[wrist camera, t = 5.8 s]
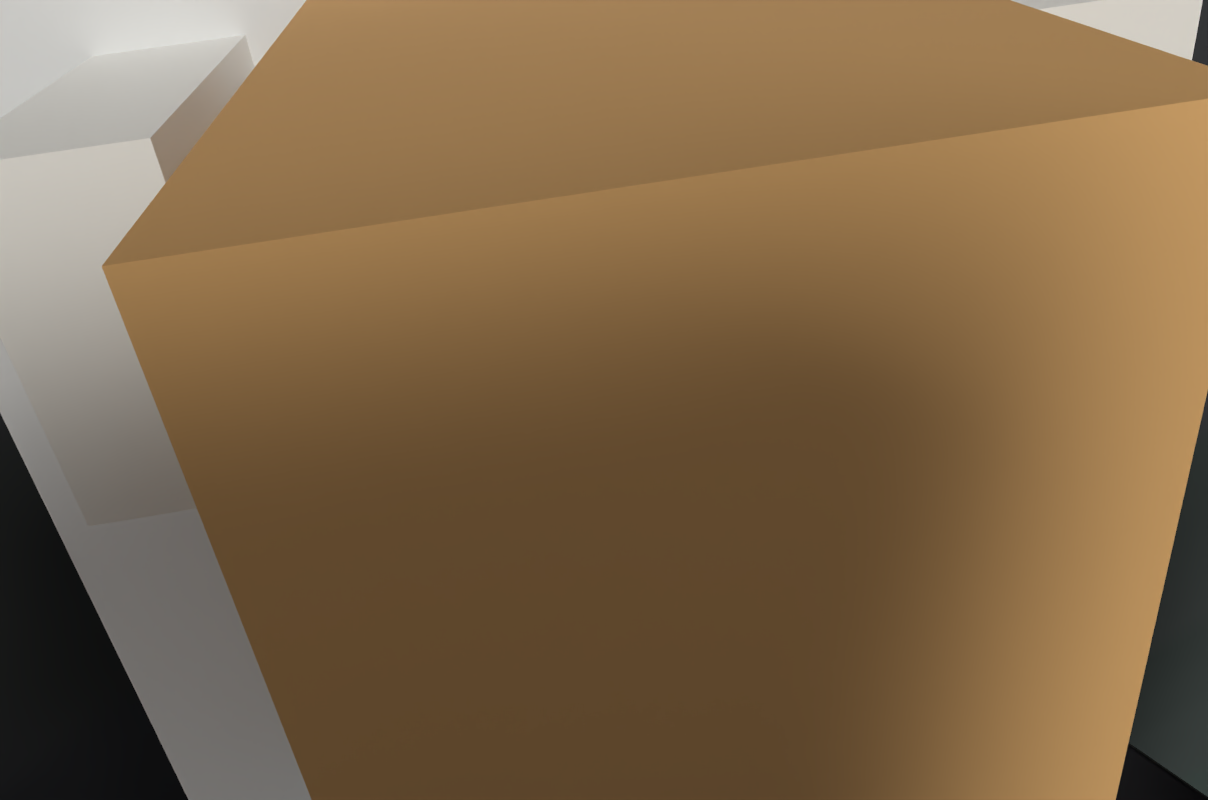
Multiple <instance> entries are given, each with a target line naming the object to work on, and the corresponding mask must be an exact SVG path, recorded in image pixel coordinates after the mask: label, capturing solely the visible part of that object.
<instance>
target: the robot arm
mask: <svg viewBox="0 0 1208 800" xmlns="http://www.w3.org/2000/svg"><path fill="white" fill-rule="evenodd" d="M1116 800H1208V797H1207V796H1205V795H1204V794H1203V793H1201V792H1200V791H1198V790H1197V789H1195V788H1194V787H1192V786H1191V785H1189V784H1188V783H1186V782H1185V781H1184V780H1182V779H1181V778H1179V777H1178V776H1176V775H1175V774H1173V773H1172V772H1170V771H1169V770H1167V769H1166V768H1165V767H1163V766H1162V765H1160V764H1159V763H1157V762H1156V761H1154V760H1153V759H1151V758H1150V757H1148V756H1147V755H1146V754H1144V753H1143V752H1141V751H1140V750H1138V749H1137V748H1135V747H1134V746H1132V745H1131V744H1129V743H1128V747H1127V752H1126V756H1125V761H1124V765H1123V769H1122V774H1121V778H1120V783H1119V787H1118V792H1117V796H1116Z"/></svg>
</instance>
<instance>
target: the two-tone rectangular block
mask: <svg viewBox="0 0 1208 800" xmlns="http://www.w3.org/2000/svg"><path fill="white" fill-rule="evenodd" d="M102 269H103V271H104V274H105V276H106V279H107V281H108V284H109V286H110V289H111V292H112V294H113V297H114V299H115V302H116V304H117V307H118V309H119V312H120V314H121V317H122V320H123V322H124V325H125V327H126V330H127V332H128V335H129V337H130V340H131V342H132V345H133V347H134V350H135V353H136V355H137V358H138V360H139V363H140V365H141V368H142V370H143V373H144V375H145V378H146V380H147V383H148V386H149V388H150V391H151V393H152V396H153V398H154V401H155V403H156V406H157V408H158V411H159V414H160V416H161V419H162V421H163V424H164V426H165V429H166V431H167V434H168V436H169V439H170V441H171V444H172V447H173V449H174V452H175V454H176V457H177V459H178V462H179V464H180V467H181V469H182V472H183V474H184V477H185V480H186V482H187V485H188V487H189V490H190V492H191V495H192V497H193V500H194V502H195V505H196V507H197V510H198V513H199V515H200V518H201V520H202V523H203V525H204V528H205V530H206V533H207V535H208V538H209V541H210V543H211V546H212V548H213V551H214V553H215V556H216V558H217V561H218V563H219V566H220V568H221V571H222V574H223V576H224V579H225V581H226V584H227V586H228V589H229V591H230V594H231V596H232V599H233V601H234V604H235V607H236V609H237V612H238V614H239V617H240V619H241V622H242V624H243V627H244V629H245V632H246V635H247V637H248V640H249V642H250V645H251V647H252V650H253V652H254V655H255V657H256V660H257V662H258V665H259V668H260V670H261V673H262V675H263V678H264V680H265V683H266V685H267V688H268V690H269V693H270V695H271V698H272V701H273V703H274V706H275V708H276V711H277V713H278V716H279V718H280V721H281V723H282V726H283V728H284V731H285V734H286V736H287V739H288V741H289V744H290V746H291V749H292V751H293V754H294V756H295V759H296V762H297V764H298V767H299V769H300V772H301V774H302V777H303V779H304V782H305V784H306V787H307V789H308V792H309V795H310V797H311V800H1116V796H1117V792H1118V787H1119V783H1120V778H1121V774H1122V769H1123V765H1124V761H1125V756H1126V752H1127V747H1128V743H1129V738H1130V734H1131V729H1132V725H1133V720H1134V716H1135V712H1136V707H1137V703H1138V698H1139V694H1140V689H1141V685H1142V680H1143V676H1144V672H1145V667H1146V663H1147V658H1148V654H1149V649H1150V645H1151V640H1152V636H1153V631H1154V627H1155V623H1156V618H1157V614H1158V609H1159V605H1160V600H1161V596H1162V591H1163V587H1164V582H1165V578H1166V574H1167V569H1168V565H1169V560H1170V556H1171V551H1172V547H1173V542H1174V538H1175V533H1176V529H1177V525H1178V520H1179V516H1180V511H1181V507H1182V502H1183V498H1184V493H1185V489H1186V484H1187V480H1188V476H1189V471H1190V467H1191V462H1192V458H1193V453H1194V449H1195V444H1196V440H1197V435H1198V431H1199V427H1200V422H1201V418H1202V413H1203V409H1204V404H1205V400H1206V395H1207V391H1208V66H1207V65H1204V64H1201V63H1198V62H1195V61H1192V60H1189V59H1186V58H1183V57H1180V56H1177V55H1174V54H1171V53H1168V52H1165V51H1162V50H1159V49H1156V48H1153V47H1150V46H1147V45H1143V44H1140V43H1137V42H1134V41H1131V40H1128V39H1125V38H1122V37H1119V36H1116V35H1113V34H1110V33H1107V32H1104V31H1101V30H1098V29H1095V28H1092V27H1089V26H1086V25H1083V24H1080V23H1077V22H1074V21H1071V20H1068V19H1065V18H1062V17H1059V16H1056V15H1053V14H1050V13H1047V12H1044V11H1041V10H1038V9H1035V8H1032V7H1029V6H1026V5H1023V4H1020V3H1017V2H1014V1H1011V0H306V1H305V3H304V4H303V5H302V7H301V8H300V9H299V11H298V12H297V13H296V14H295V16H294V17H293V18H292V20H291V21H290V22H289V24H288V25H287V26H286V27H285V29H284V30H283V31H282V33H281V34H280V35H279V37H278V38H277V39H276V40H275V42H274V43H273V44H272V46H271V47H270V48H269V50H268V51H267V52H266V53H265V55H264V56H263V57H262V59H261V60H260V61H259V62H258V64H257V65H256V66H255V68H254V69H253V70H252V72H251V73H250V74H249V75H248V77H247V78H246V79H245V81H244V82H243V83H242V85H241V86H240V87H239V88H238V90H237V91H236V92H235V94H234V95H233V96H232V98H231V99H230V100H229V101H228V103H227V104H226V105H225V107H224V108H223V109H222V111H221V112H220V113H219V114H218V116H217V117H216V118H215V120H214V121H213V122H212V123H211V125H210V126H209V127H208V129H207V130H206V131H205V133H204V134H203V135H202V136H201V138H200V139H199V140H198V142H197V143H196V144H195V146H194V147H193V148H192V149H191V151H190V152H189V153H188V155H187V156H186V157H185V159H184V160H183V161H182V162H181V164H180V165H179V166H178V168H177V169H176V170H175V172H174V173H173V174H172V175H171V177H170V178H169V179H168V181H167V182H166V183H165V185H164V186H163V187H162V188H161V190H160V191H159V192H158V194H157V195H156V196H155V197H154V199H153V200H152V201H151V203H150V204H149V205H148V207H147V208H146V209H145V210H144V212H143V213H142V214H141V216H140V217H139V218H138V220H137V221H136V222H135V223H134V225H133V226H132V227H131V229H130V230H129V231H128V233H127V234H126V235H125V236H124V238H123V239H122V240H121V242H120V243H119V244H118V246H117V247H116V248H115V249H114V251H113V252H112V253H111V255H110V256H109V257H108V258H107V260H106V261H105V262H104V264H103V265H102Z"/></svg>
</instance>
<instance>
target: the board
mask: <svg viewBox="0 0 1208 800" xmlns="http://www.w3.org/2000/svg"><path fill="white" fill-rule="evenodd" d="M305 1H306V0H0V413H1V416H2V418H3V420H4V422H5V424H6V426H7V428H8V430H9V432H10V434H11V436H12V438H13V440H14V442H15V444H16V446H17V448H18V450H19V453H20V455H21V457H22V459H23V461H24V463H25V465H26V467H27V469H28V471H29V473H30V475H31V477H32V479H33V481H34V483H35V485H36V487H37V490H38V492H39V494H40V496H41V498H42V500H43V502H44V504H45V506H46V508H47V510H48V512H49V514H50V516H51V518H52V520H53V522H54V524H55V527H56V529H57V531H58V533H59V535H60V537H61V539H62V541H63V543H64V545H65V547H66V549H67V551H68V553H69V555H70V557H71V559H72V562H73V564H74V566H75V568H76V570H77V572H78V574H79V576H80V578H81V580H82V582H83V584H84V586H85V588H86V590H87V592H88V594H89V596H90V599H91V601H92V603H93V605H94V607H95V609H96V611H97V613H98V615H99V617H100V619H101V621H102V623H103V625H104V627H105V629H106V631H107V633H108V636H109V638H110V640H111V642H112V644H113V646H114V648H115V650H116V652H117V654H118V656H119V658H120V660H121V662H122V664H123V666H124V668H125V670H126V673H127V675H128V677H129V679H130V681H131V683H132V685H133V687H134V689H135V691H136V693H137V695H138V697H139V699H140V701H141V703H142V705H143V707H144V710H145V712H146V714H147V716H148V718H149V720H150V722H151V724H152V726H153V728H154V730H155V732H156V734H157V736H158V738H159V740H160V742H161V745H162V747H163V749H164V751H165V753H166V755H167V757H168V759H169V761H170V763H171V765H172V767H173V769H174V771H175V773H176V775H177V777H178V779H179V782H180V784H181V786H182V788H183V790H184V792H185V794H186V796H187V798H188V800H311V797H310V795H309V792H308V789H307V787H306V784H305V782H304V779H303V777H302V774H301V772H300V769H299V767H298V764H297V762H296V759H295V756H294V754H293V751H292V749H291V746H290V744H289V741H288V739H287V736H286V734H285V731H284V728H283V726H282V723H281V721H280V718H279V716H278V713H277V711H276V708H275V706H274V703H273V701H272V698H271V695H270V693H269V690H268V688H267V685H266V683H265V680H264V678H263V675H262V673H261V670H260V668H259V665H258V662H257V660H256V657H255V655H254V652H253V650H252V647H251V645H250V642H249V640H248V637H247V635H246V632H245V629H244V627H243V624H242V622H241V619H240V617H239V614H238V612H237V609H236V607H235V604H234V601H233V599H232V596H231V594H230V591H229V589H228V586H227V584H226V581H225V579H224V576H223V574H222V571H221V568H220V566H219V563H218V561H217V558H216V556H215V553H214V551H213V548H212V546H211V543H210V541H209V538H208V535H207V533H206V530H205V528H204V525H203V523H202V520H201V518H200V515H199V513H198V510H197V507H196V505H195V502H194V500H193V497H192V495H191V492H190V490H189V487H188V485H187V482H186V480H185V477H184V474H183V472H182V469H181V467H180V464H179V462H178V459H177V457H176V454H175V452H174V449H173V447H172V444H171V441H170V439H169V436H168V434H167V431H166V429H165V426H164V424H163V421H162V419H161V416H160V414H159V411H158V408H157V406H156V403H155V401H154V398H153V396H152V393H151V391H150V388H149V386H148V383H147V380H146V378H145V375H144V373H143V370H142V368H141V365H140V363H139V360H138V358H137V355H136V353H135V350H134V347H133V345H132V342H131V340H130V337H129V335H128V332H127V330H126V327H125V325H124V322H123V320H122V317H121V314H120V312H119V309H118V307H117V304H116V302H115V299H114V297H113V294H112V292H111V289H110V286H109V284H108V281H107V279H106V276H105V274H104V271H103V269H102V265H103V264H104V262H105V261H106V260H107V258H108V257H109V256H110V255H111V253H112V252H113V251H114V249H115V248H116V247H117V246H118V244H119V243H120V242H121V240H122V239H123V238H124V236H125V235H126V234H127V233H128V231H129V230H130V229H131V227H132V226H133V225H134V223H135V222H136V221H137V220H138V218H139V217H140V216H141V214H142V213H143V212H144V210H145V209H146V208H147V207H148V205H149V204H150V203H151V201H152V200H153V199H154V197H155V196H156V195H157V194H158V192H159V191H160V190H161V188H162V187H163V186H164V185H165V183H166V182H167V181H168V179H169V178H170V177H171V175H172V174H173V173H174V172H175V170H176V169H177V168H178V166H179V165H180V164H181V162H182V161H183V160H184V159H185V157H186V156H187V155H188V153H189V152H190V151H191V149H192V148H193V147H194V146H195V144H196V143H197V142H198V140H199V139H200V138H201V136H202V135H203V134H204V133H205V131H206V130H207V129H208V127H209V126H210V125H211V123H212V122H213V121H214V120H215V118H216V117H217V116H218V114H219V113H220V112H221V111H222V109H223V108H224V107H225V105H226V104H227V103H228V101H229V100H230V99H231V98H232V96H233V95H234V94H235V92H236V91H237V90H238V88H239V87H240V86H241V85H242V83H243V82H244V81H245V79H246V78H247V77H248V75H249V74H250V73H251V72H252V70H253V69H254V68H255V66H256V65H257V64H258V62H259V61H260V60H261V59H262V57H263V56H264V55H265V53H266V52H267V51H268V50H269V48H270V47H271V46H272V44H273V43H274V42H275V40H276V39H277V38H278V37H279V35H280V34H281V33H282V31H283V30H284V29H285V27H286V26H287V25H288V24H289V22H290V21H291V20H292V18H293V17H294V16H295V14H296V13H297V12H298V11H299V9H300V8H301V7H302V5H303V4H304V3H305ZM1011 1H1014V2H1017V3H1020V4H1023V5H1026V6H1029V7H1032V8H1035V9H1038V10H1041V11H1044V12H1047V13H1050V14H1053V15H1056V16H1059V17H1062V18H1065V19H1068V20H1071V21H1074V22H1077V23H1080V24H1083V25H1086V26H1089V27H1092V28H1095V29H1098V30H1101V31H1104V32H1107V33H1110V34H1113V35H1116V36H1119V37H1122V38H1125V39H1128V40H1131V41H1134V42H1137V43H1140V44H1143V45H1147V46H1150V47H1153V48H1156V49H1159V50H1162V51H1165V52H1168V53H1171V54H1174V55H1177V56H1180V57H1183V58H1186V59H1189V60H1192V57H1193V51H1194V45H1195V40H1196V34H1197V29H1198V23H1199V18H1200V12H1201V7H1202V1H1203V0H1011Z"/></svg>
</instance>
